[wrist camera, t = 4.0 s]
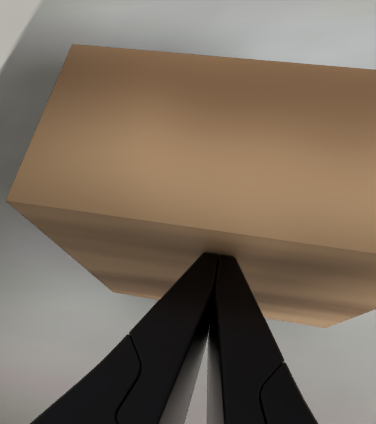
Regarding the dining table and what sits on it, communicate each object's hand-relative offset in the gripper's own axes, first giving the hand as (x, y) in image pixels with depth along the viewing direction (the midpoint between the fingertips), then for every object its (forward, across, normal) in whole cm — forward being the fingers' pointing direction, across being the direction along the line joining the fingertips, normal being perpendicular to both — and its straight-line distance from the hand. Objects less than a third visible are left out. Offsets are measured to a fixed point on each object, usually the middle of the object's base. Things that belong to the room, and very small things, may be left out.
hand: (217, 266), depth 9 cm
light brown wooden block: (+6, 0, +5) cm, 8 cm away
